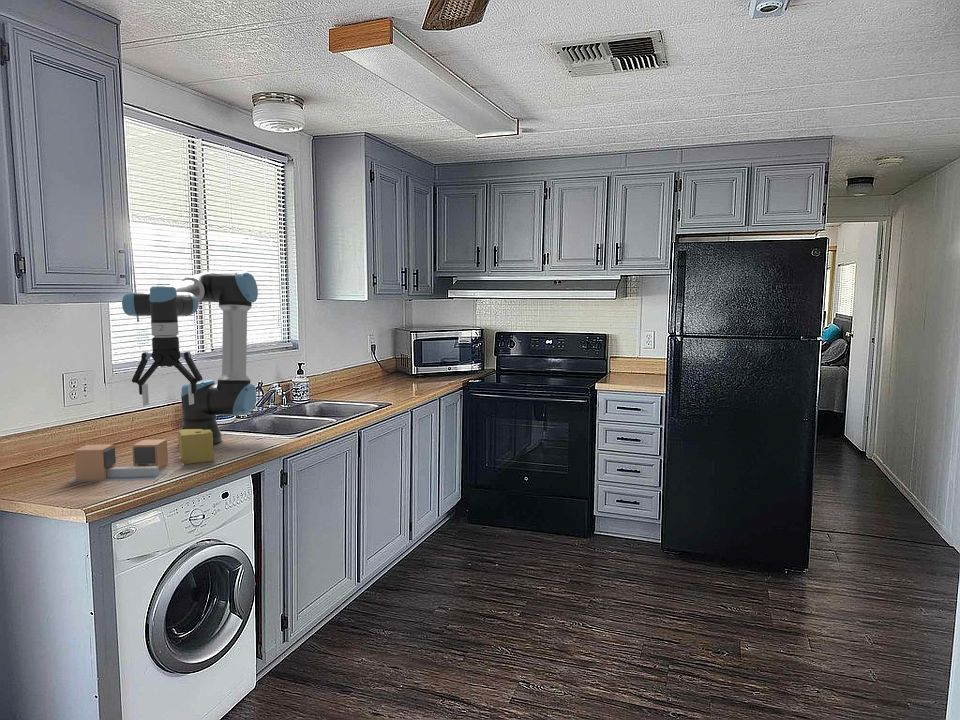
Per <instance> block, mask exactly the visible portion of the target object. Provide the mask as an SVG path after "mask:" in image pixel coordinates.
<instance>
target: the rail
mask: <svg viewBox="0 0 960 720" xmlns="http://www.w3.org/2000/svg"><path fill="white" fill-rule="evenodd" d="M164 473H165V474H164ZM163 474H164V475H163ZM166 475H167V470H160V469H159V466H153V465H151V466H150V465H147V466H140V467H134V466H115V467H108V468H106V477H107V478H106V479H104V480H76V476H75V477H73V478H71V479H69V480H66V482H68V483H69V482H71V483H72V482H74V483H76V482H108V481H109V482H110V481H116V482H117V481H148V480H150V481H153V483H152V484H155V483H156V482H158V481H159V480H160V479H162V478H164V477H165V476H166ZM160 476H161V477H160ZM157 478H158V479H157ZM154 480H155V481H154Z"/></svg>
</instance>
